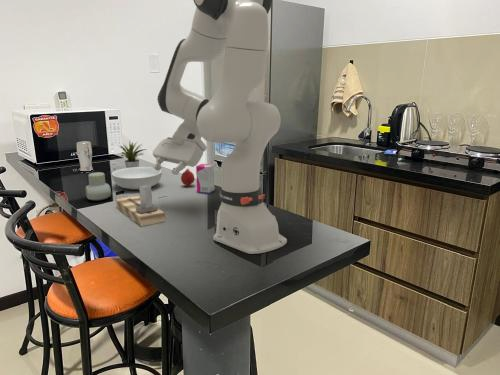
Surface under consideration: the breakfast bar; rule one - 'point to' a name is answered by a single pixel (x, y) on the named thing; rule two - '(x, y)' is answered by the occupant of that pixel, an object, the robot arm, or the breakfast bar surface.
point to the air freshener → (97, 187)
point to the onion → (187, 177)
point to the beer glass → (85, 155)
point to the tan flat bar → (142, 219)
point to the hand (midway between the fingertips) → (164, 171)
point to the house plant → (131, 155)
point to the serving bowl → (136, 177)
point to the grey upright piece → (146, 200)
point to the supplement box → (205, 178)
